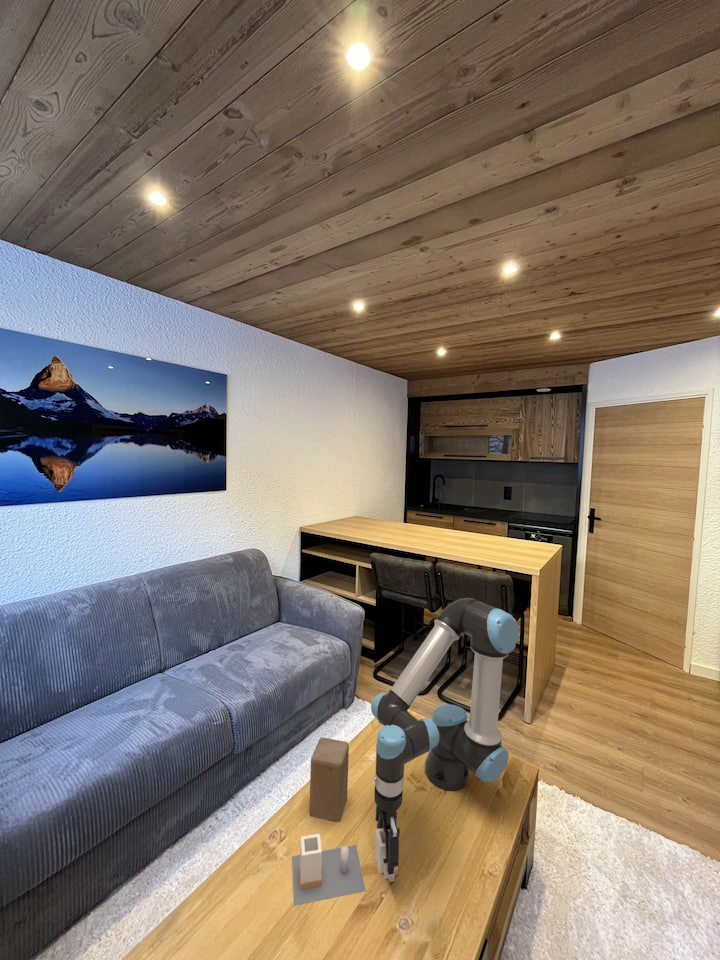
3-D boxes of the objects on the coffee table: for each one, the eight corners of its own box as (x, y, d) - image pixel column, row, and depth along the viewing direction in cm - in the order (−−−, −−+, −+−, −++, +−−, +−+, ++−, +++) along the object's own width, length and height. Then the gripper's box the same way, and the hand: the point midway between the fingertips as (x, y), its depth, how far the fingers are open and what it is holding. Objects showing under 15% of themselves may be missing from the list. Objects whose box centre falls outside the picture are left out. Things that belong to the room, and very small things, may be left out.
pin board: (356, 849, 113) (356, 825, 112) (365, 896, 101) (366, 869, 101) (291, 861, 109) (292, 836, 109) (293, 911, 97) (294, 882, 97)
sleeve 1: (319, 863, 107) (320, 832, 107) (321, 885, 102) (322, 853, 101) (299, 867, 106) (299, 836, 106) (300, 889, 101) (301, 856, 100)
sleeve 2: (392, 855, 112) (393, 825, 111) (398, 875, 106) (399, 844, 106) (373, 858, 111) (374, 828, 110) (378, 879, 105) (379, 848, 105)
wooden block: (340, 827, 119) (342, 764, 118) (308, 820, 121) (309, 758, 120) (347, 799, 129) (349, 740, 128) (318, 792, 131) (319, 735, 130)
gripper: (366, 760, 116) (363, 834, 117) (385, 822, 96) (381, 910, 98) (391, 757, 117) (388, 830, 119) (414, 818, 98) (410, 904, 100)
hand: (385, 866), depth 108 cm, fingers open, 7 cm apart
